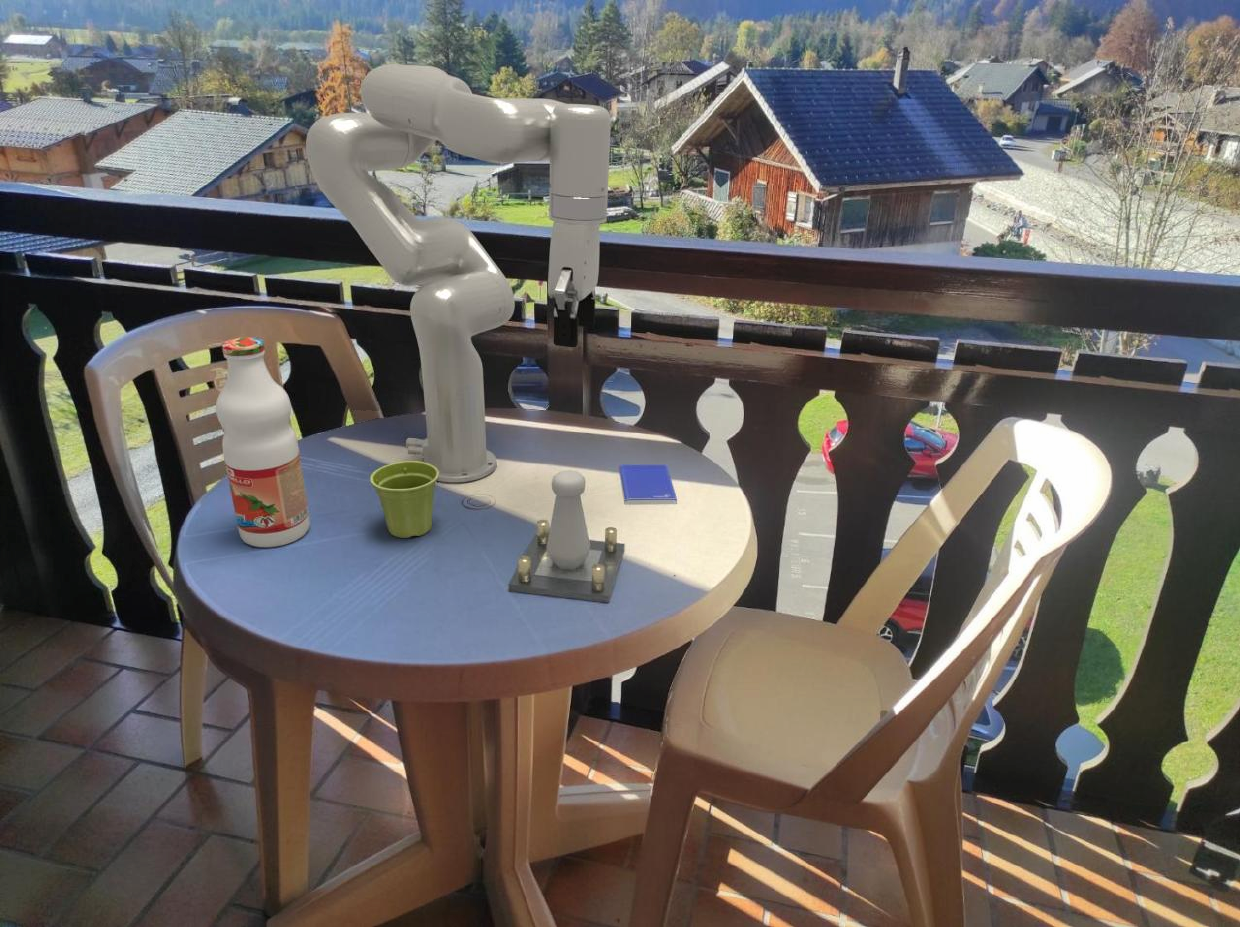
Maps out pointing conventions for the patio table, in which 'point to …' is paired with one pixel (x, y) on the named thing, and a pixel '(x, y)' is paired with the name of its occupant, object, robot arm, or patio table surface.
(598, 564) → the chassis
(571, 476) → the salt shaker
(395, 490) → the plant pot
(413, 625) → the patio table surface
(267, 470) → the fruit juice
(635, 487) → the hard drive
